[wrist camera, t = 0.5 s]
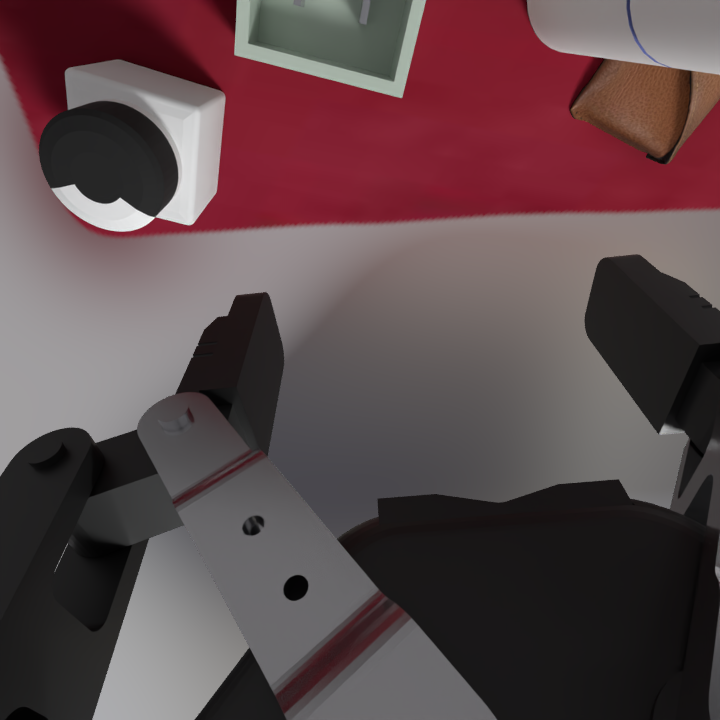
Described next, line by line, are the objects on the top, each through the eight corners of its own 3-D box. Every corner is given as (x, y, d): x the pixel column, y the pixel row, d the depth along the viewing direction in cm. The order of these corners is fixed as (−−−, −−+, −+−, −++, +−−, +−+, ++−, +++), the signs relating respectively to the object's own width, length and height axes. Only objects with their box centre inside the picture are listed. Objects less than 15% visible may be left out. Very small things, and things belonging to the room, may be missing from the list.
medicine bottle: (116, 57, 29) (5, 75, 20) (227, 91, 31) (173, 124, 21) (119, 168, 33) (29, 227, 24) (217, 194, 35) (168, 260, 25)
